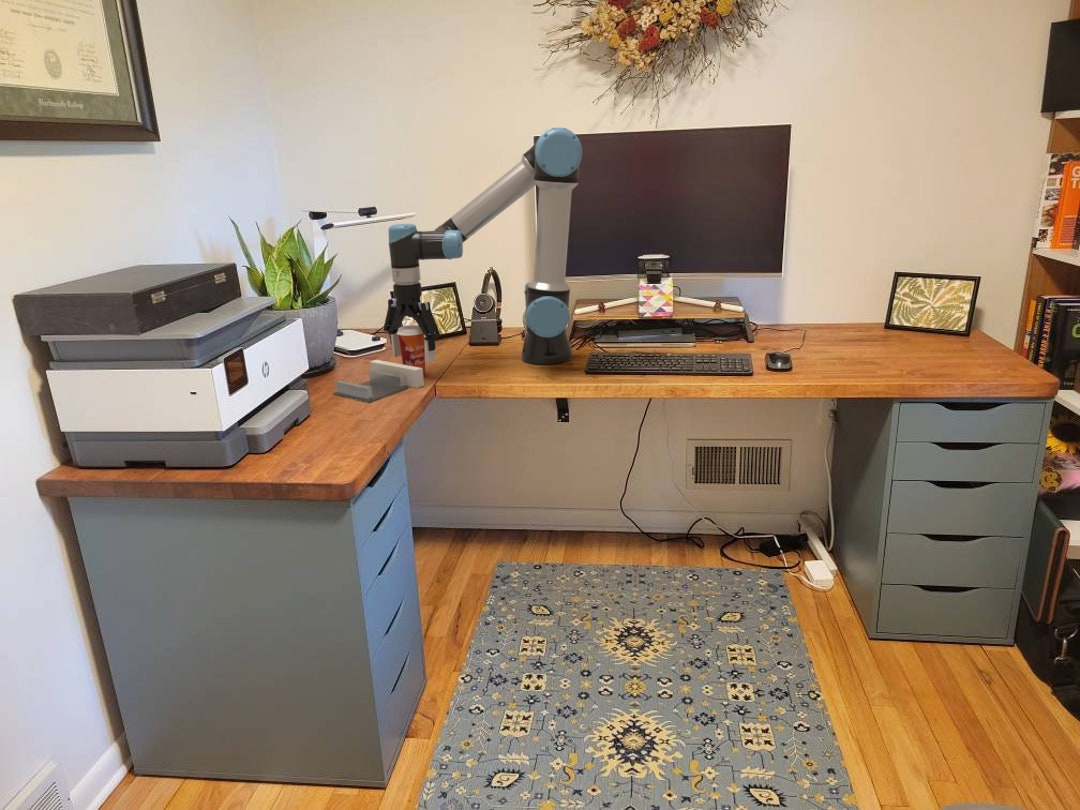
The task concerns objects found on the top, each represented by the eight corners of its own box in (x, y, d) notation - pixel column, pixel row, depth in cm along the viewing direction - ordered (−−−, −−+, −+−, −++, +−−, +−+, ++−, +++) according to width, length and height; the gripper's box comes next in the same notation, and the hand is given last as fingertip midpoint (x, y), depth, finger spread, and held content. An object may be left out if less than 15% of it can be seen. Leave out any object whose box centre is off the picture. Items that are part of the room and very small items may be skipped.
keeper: (409, 388, 206) (407, 375, 205) (369, 402, 195) (368, 389, 194) (373, 381, 214) (371, 368, 213) (333, 394, 203) (331, 381, 202)
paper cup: (409, 381, 212) (404, 332, 208) (396, 375, 218) (391, 327, 214) (434, 376, 216) (430, 327, 212) (421, 370, 222) (417, 323, 218)
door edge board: (424, 385, 208) (422, 368, 206) (417, 388, 206) (416, 370, 204) (378, 376, 218) (376, 359, 216) (371, 378, 216) (369, 361, 214)
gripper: (365, 281, 213) (373, 356, 220) (430, 288, 199) (436, 367, 206) (385, 277, 219) (392, 350, 225) (449, 283, 205) (455, 361, 212)
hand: (413, 359), depth 216 cm, fingers open, 12 cm apart
